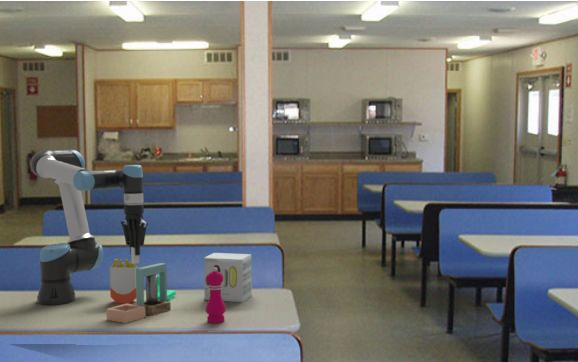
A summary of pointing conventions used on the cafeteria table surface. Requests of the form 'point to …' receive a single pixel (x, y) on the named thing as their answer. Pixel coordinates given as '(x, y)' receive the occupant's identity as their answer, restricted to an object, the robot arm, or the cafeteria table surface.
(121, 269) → the french fries container
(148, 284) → the metal cylinder
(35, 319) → the cafeteria table surface
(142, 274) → the teal green arch
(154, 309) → the socket block
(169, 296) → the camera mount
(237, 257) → the supplement box
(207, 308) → the pepper mill
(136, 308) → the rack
